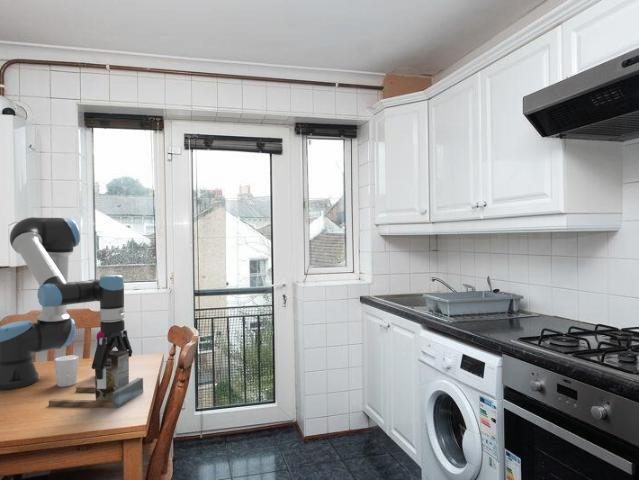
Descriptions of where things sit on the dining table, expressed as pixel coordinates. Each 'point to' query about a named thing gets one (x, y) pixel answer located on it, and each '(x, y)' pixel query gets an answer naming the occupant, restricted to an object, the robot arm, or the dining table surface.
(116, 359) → the coffee box
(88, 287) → the robot arm
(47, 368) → the dining table surface
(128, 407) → the dining table surface
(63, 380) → the white cup
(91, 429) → the dining table surface
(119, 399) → the guide channel
